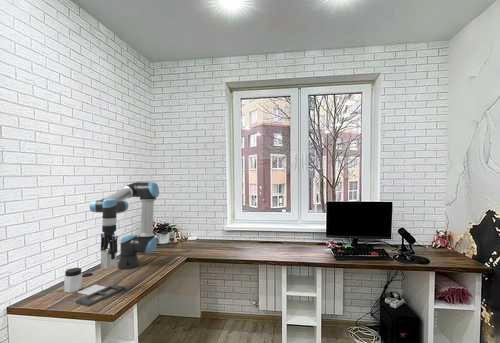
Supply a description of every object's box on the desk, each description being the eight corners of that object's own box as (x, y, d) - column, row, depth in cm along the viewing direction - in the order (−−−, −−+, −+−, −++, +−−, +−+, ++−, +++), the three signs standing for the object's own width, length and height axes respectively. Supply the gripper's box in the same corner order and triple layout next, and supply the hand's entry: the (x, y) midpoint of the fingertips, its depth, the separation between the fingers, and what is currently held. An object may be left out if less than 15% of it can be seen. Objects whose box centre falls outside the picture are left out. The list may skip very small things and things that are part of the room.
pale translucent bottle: (110, 264, 163) (110, 246, 163) (116, 266, 160) (116, 248, 160) (100, 267, 157) (101, 249, 158) (106, 269, 154) (106, 250, 155)
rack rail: (113, 286, 166) (113, 284, 166) (125, 289, 162) (125, 287, 162) (75, 303, 144) (75, 300, 144) (88, 306, 140) (88, 304, 140)
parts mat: (95, 285, 168) (95, 284, 168) (106, 287, 164) (106, 287, 164) (76, 292, 157) (76, 292, 157) (88, 295, 153) (88, 294, 153)
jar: (69, 287, 164) (69, 267, 165) (83, 286, 166) (84, 267, 166) (61, 293, 155) (62, 272, 156) (77, 292, 157) (77, 272, 157)
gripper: (94, 224, 161) (93, 262, 160) (112, 227, 151) (111, 268, 150) (106, 222, 167) (105, 259, 167) (124, 225, 157) (124, 264, 157)
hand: (108, 263), depth 159 cm, fingers closed on pale translucent bottle, 6 cm apart
